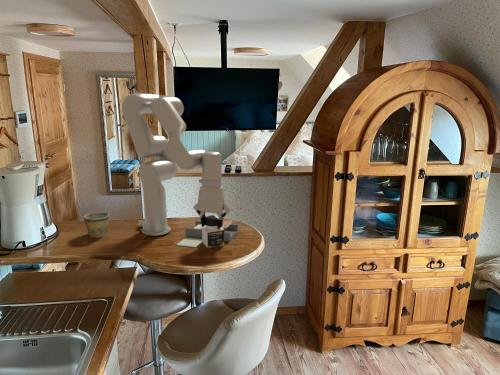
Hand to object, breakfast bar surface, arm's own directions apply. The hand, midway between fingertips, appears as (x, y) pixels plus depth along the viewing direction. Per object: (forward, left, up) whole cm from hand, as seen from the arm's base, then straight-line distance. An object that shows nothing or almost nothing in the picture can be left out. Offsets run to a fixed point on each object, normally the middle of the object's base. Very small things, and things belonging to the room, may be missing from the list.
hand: (211, 226), depth 149 cm
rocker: (-4, +11, -4) cm, 12 cm away
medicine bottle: (0, +1, -8) cm, 8 cm away
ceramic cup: (-49, -5, -8) cm, 50 cm away
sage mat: (-9, -1, -8) cm, 12 cm away
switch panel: (-4, +11, -8) cm, 14 cm away
